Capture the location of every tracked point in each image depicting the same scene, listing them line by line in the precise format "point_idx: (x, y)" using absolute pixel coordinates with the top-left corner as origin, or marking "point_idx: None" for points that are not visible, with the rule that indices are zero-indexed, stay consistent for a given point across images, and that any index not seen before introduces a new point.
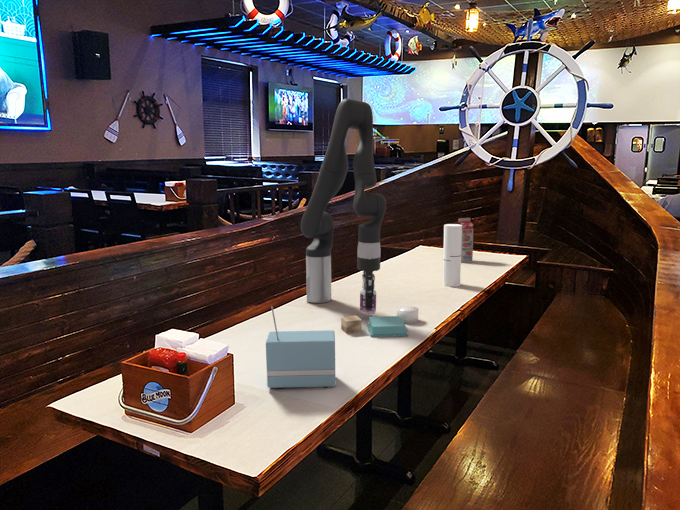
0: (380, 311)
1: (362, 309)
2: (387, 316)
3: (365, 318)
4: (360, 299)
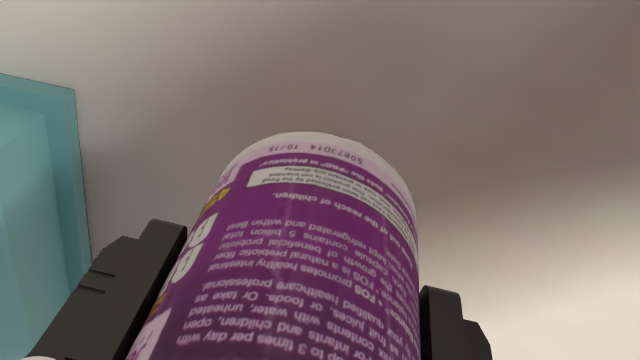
0: (505, 331)
1: (239, 170)
2: (20, 309)
3: None
4: (263, 261)
